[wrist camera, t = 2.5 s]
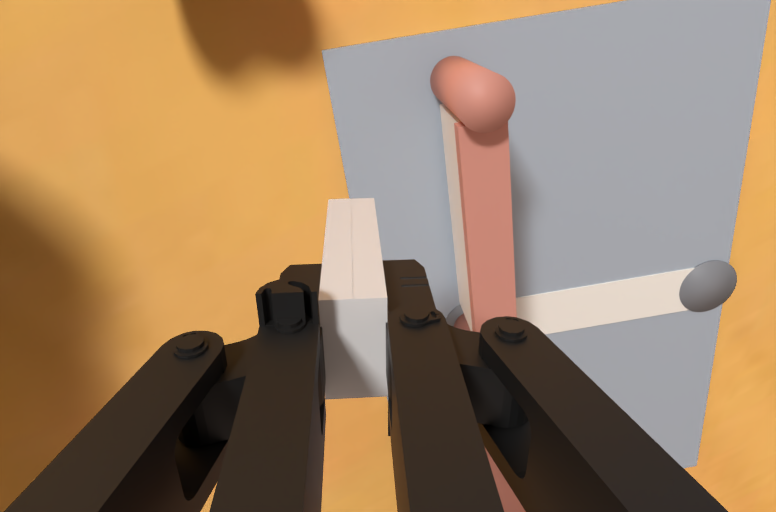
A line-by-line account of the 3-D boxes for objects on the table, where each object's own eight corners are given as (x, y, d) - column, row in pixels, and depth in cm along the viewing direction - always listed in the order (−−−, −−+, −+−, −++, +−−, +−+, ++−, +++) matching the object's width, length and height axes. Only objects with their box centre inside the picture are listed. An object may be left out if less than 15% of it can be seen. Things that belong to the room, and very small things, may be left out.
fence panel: (490, 298, 31) (525, 368, 25) (453, 305, 31) (480, 376, 25) (473, 52, 25) (514, 67, 19) (427, 59, 25) (455, 77, 19)
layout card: (409, 516, 40) (410, 522, 40) (322, 50, 25) (321, 51, 25) (700, 466, 40) (704, 471, 40) (780, -25, 26) (788, -26, 25)
